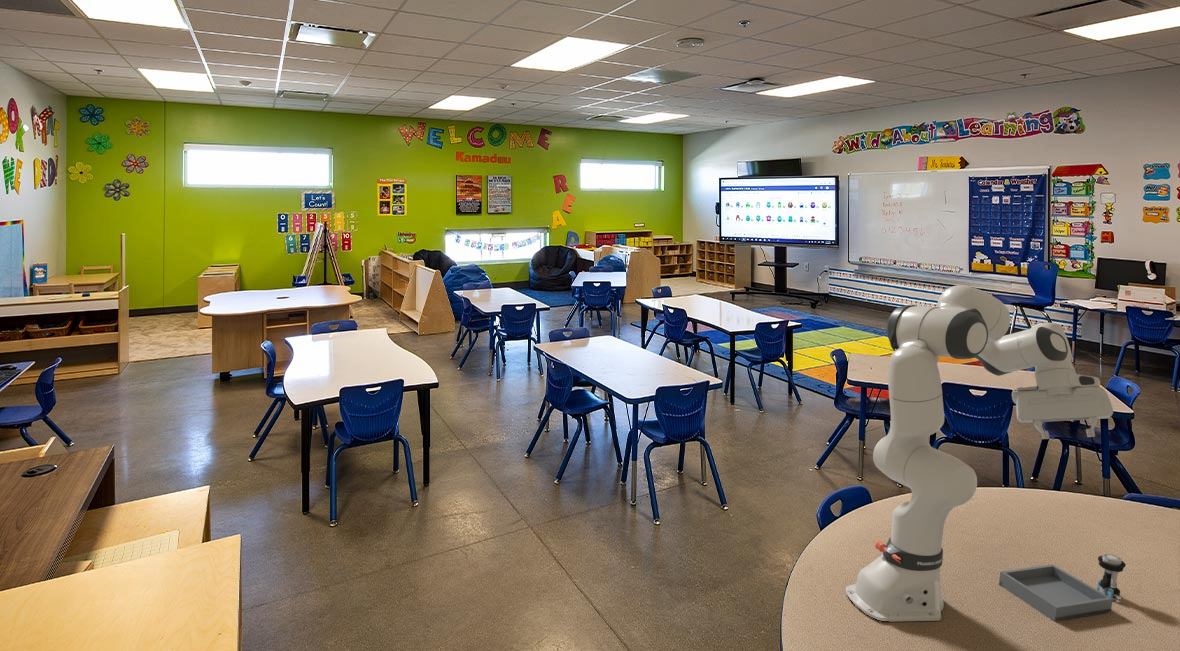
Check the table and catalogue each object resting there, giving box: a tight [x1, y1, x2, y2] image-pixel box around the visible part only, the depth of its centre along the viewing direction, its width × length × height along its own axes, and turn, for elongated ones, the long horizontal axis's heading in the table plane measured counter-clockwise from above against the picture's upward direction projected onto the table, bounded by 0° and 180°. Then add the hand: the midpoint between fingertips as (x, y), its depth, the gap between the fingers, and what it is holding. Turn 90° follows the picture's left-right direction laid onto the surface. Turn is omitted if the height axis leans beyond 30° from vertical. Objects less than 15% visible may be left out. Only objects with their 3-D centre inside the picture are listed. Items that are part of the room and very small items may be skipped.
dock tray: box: [998, 564, 1114, 622], centre depth 164 cm, size 16×16×4 cm
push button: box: [1096, 553, 1127, 603], centre depth 164 cm, size 7×5×10 cm
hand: (1068, 437), depth 169 cm, fingers open, 8 cm apart
